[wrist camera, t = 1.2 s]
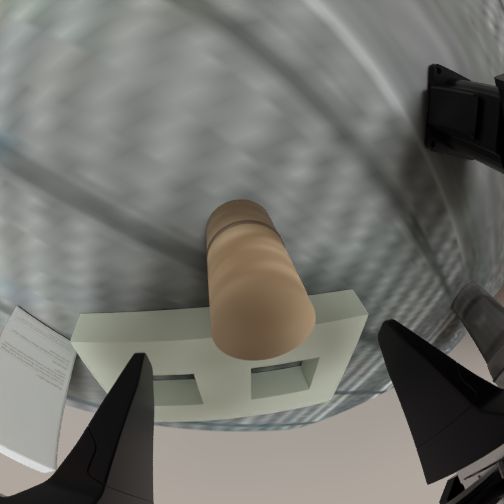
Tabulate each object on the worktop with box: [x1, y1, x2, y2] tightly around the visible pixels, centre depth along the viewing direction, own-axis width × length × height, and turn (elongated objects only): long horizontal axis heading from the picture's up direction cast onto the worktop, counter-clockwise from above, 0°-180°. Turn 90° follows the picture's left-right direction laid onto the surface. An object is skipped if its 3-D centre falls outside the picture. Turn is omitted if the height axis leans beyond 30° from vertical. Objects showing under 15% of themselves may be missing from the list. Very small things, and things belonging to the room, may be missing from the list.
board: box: [70, 289, 369, 422], centre depth 22 cm, size 22×14×3 cm, turn 90°
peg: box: [206, 200, 316, 361], centre depth 13 cm, size 4×4×8 cm
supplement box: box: [0, 306, 77, 473], centre depth 14 cm, size 7×7×13 cm
